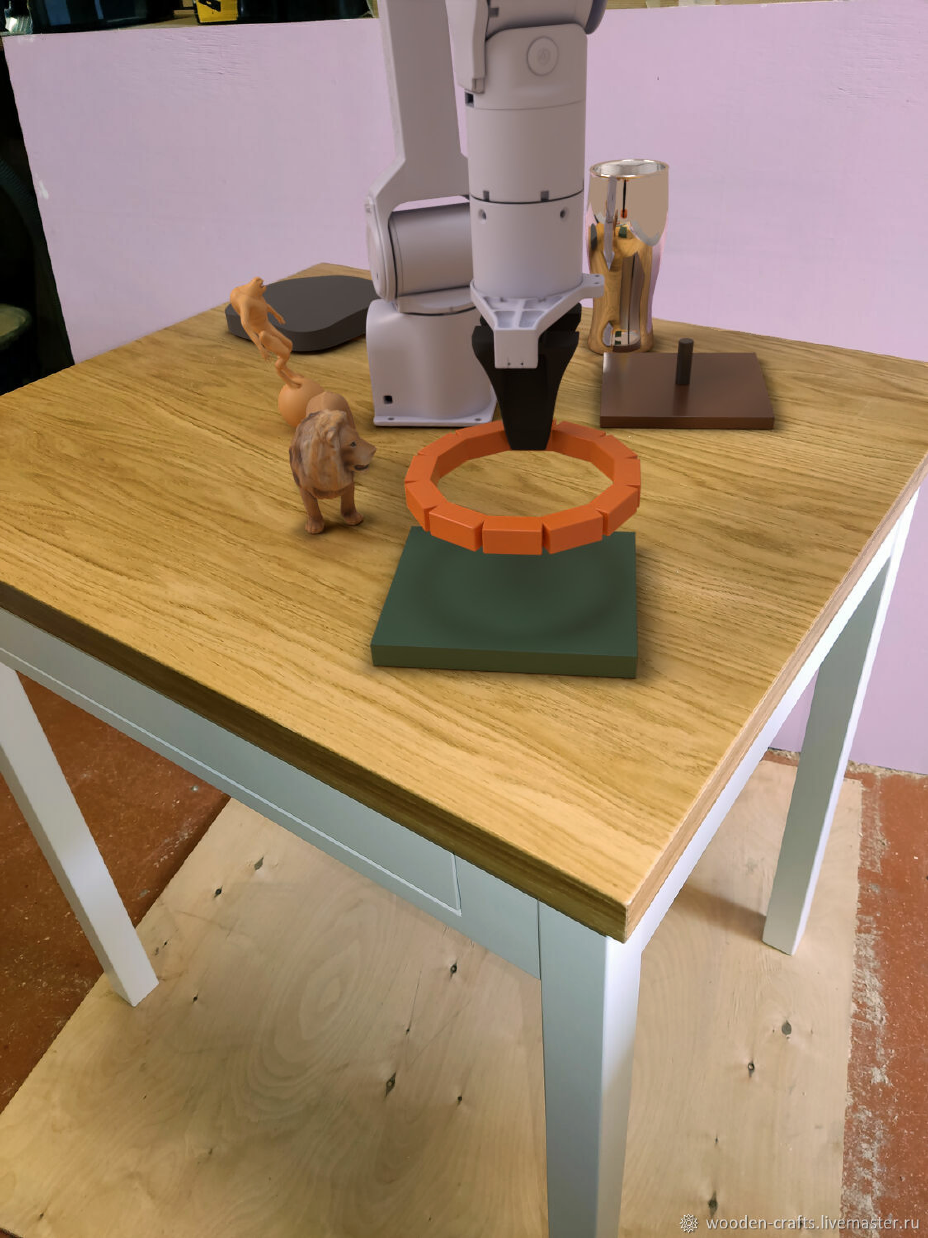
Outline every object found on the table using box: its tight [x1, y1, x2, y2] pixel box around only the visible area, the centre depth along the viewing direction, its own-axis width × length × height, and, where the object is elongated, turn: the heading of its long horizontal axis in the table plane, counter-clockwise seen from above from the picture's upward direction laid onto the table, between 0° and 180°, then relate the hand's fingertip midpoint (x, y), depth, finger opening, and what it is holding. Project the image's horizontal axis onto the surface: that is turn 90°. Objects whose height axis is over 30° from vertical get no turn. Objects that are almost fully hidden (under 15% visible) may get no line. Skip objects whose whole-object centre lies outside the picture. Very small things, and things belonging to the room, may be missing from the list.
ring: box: [403, 418, 642, 555], centre depth 49 cm, size 12×12×1 cm
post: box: [599, 337, 776, 430], centre depth 73 cm, size 13×13×4 cm
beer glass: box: [584, 158, 670, 355], centre depth 80 cm, size 7×7×15 cm
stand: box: [369, 525, 639, 679], centre depth 52 cm, size 14×12×2 cm
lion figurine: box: [288, 390, 378, 535], centre depth 61 cm, size 15×5×9 cm, turn 13°
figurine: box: [229, 276, 326, 429], centre depth 70 cm, size 8×6×12 cm
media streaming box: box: [224, 274, 382, 352], centre depth 92 cm, size 15×15×3 cm
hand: (529, 440), depth 53 cm, fingers closed on ring, 1 cm apart
